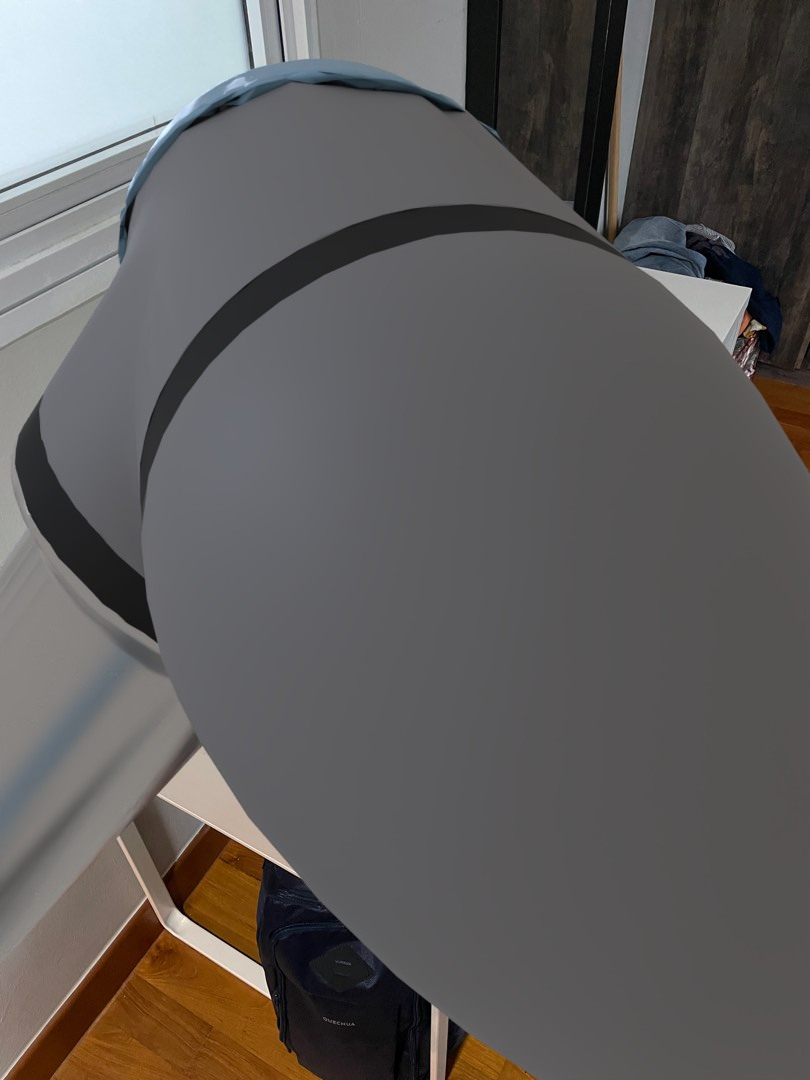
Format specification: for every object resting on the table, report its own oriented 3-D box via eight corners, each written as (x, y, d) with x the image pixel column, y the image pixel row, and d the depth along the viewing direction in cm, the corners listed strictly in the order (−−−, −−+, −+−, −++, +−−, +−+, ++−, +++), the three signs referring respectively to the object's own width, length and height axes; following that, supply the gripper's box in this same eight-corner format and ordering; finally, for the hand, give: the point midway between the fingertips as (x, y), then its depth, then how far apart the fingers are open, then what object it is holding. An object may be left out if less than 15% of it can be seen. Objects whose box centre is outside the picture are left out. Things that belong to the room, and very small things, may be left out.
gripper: (485, 929, 56) (284, 742, 67) (674, 712, 68) (477, 585, 80) (489, 879, 51) (271, 686, 62) (693, 655, 63) (479, 528, 74)
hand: (386, 629), depth 71 cm, fingers open, 12 cm apart
